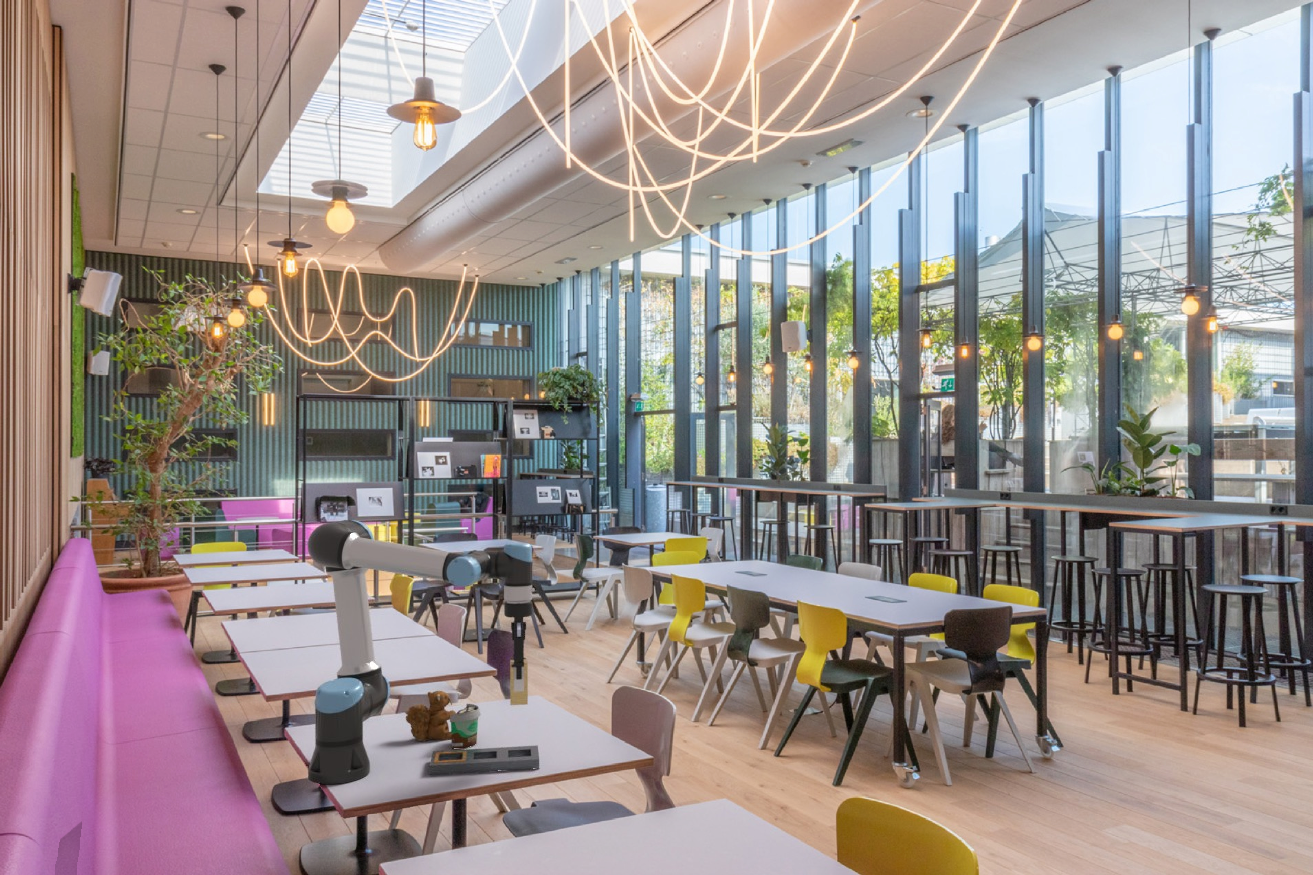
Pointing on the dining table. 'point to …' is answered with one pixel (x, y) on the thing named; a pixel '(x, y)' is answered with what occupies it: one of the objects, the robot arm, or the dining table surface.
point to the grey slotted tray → (483, 760)
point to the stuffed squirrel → (431, 718)
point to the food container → (465, 726)
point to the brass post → (521, 696)
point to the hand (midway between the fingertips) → (518, 688)
